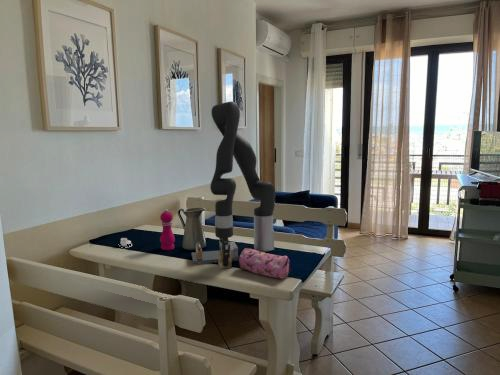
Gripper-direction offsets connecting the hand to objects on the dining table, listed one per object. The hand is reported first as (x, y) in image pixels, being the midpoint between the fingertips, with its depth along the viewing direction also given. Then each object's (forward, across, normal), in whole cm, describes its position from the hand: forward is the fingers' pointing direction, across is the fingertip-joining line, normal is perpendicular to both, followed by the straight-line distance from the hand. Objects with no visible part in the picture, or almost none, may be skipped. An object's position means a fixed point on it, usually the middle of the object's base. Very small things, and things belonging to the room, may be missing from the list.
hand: (224, 263), depth 158 cm
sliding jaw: (-1, +11, +10) cm, 15 cm away
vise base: (+1, +11, +3) cm, 11 cm away
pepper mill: (+1, +31, +24) cm, 39 cm away
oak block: (+1, 0, 0) cm, 1 cm away
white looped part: (+2, +41, +43) cm, 59 cm away
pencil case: (+1, -11, -14) cm, 18 cm away
